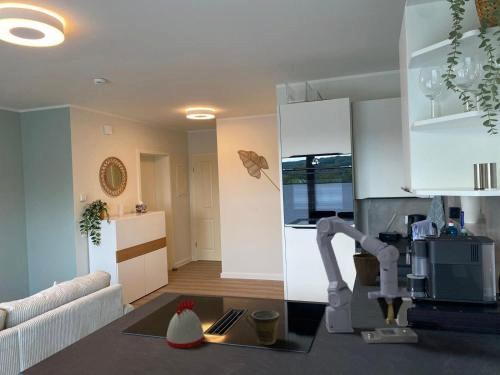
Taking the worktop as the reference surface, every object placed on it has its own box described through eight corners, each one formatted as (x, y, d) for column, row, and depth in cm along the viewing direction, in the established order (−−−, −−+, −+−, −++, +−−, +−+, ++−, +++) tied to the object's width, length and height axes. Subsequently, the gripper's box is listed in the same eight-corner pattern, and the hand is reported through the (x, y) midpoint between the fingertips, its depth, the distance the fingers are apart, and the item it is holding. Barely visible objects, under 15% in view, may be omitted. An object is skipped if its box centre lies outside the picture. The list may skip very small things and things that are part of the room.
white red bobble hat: (211, 339, 144) (210, 299, 144) (181, 351, 134) (180, 308, 134) (188, 330, 153) (187, 293, 153) (159, 341, 143) (158, 301, 143)
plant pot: (349, 281, 221) (348, 254, 221) (374, 279, 223) (373, 252, 223) (359, 288, 206) (359, 258, 206) (386, 286, 208) (385, 257, 208)
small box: (413, 327, 149) (412, 300, 149) (398, 326, 150) (397, 300, 150) (409, 320, 157) (408, 294, 157) (394, 319, 158) (394, 294, 158)
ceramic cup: (283, 338, 142) (282, 311, 142) (273, 349, 133) (273, 320, 133) (252, 333, 148) (251, 307, 148) (240, 343, 139) (239, 316, 139)
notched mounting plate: (366, 343, 135) (366, 334, 135) (361, 334, 143) (360, 327, 143) (417, 342, 135) (417, 334, 135) (409, 334, 142) (409, 326, 142)
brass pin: (387, 324, 135) (386, 304, 135) (384, 321, 138) (384, 302, 138) (395, 324, 135) (395, 304, 135) (392, 321, 138) (392, 301, 138)
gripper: (371, 283, 132) (372, 322, 133) (413, 282, 132) (414, 322, 132) (366, 278, 139) (367, 315, 140) (406, 277, 139) (407, 315, 139)
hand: (389, 318), depth 136 cm, fingers closed on brass pin, 3 cm apart
